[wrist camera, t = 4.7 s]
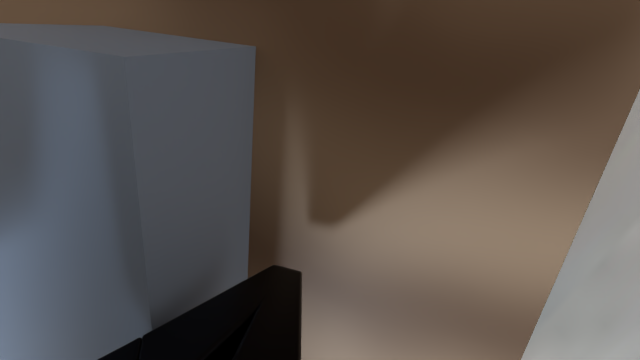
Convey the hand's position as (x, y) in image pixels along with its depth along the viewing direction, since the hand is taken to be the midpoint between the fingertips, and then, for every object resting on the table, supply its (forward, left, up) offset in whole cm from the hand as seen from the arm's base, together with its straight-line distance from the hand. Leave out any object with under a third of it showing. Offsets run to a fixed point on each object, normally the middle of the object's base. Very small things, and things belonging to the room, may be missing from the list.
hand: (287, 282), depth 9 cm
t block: (0, +7, -1) cm, 7 cm away
